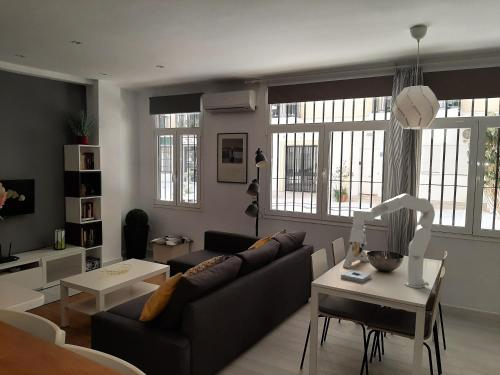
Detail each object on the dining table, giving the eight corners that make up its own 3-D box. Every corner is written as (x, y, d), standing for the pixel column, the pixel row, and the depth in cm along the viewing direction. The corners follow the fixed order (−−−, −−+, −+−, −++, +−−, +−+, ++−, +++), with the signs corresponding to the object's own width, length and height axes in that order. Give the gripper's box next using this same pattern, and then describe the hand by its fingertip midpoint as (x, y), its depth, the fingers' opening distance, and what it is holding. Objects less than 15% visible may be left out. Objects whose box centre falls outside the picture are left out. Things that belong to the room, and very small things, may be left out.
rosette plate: (370, 277, 282) (371, 273, 282) (362, 283, 270) (362, 279, 270) (350, 273, 292) (350, 269, 292) (340, 278, 280) (340, 274, 279)
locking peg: (360, 256, 280) (361, 242, 279) (358, 257, 277) (359, 243, 276) (355, 255, 282) (355, 241, 282) (353, 256, 279) (353, 242, 278)
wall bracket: (361, 282, 323) (347, 267, 304) (357, 281, 326) (342, 266, 307) (370, 258, 331) (356, 242, 312) (365, 257, 334) (351, 241, 315)
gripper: (371, 227, 276) (370, 253, 277) (349, 224, 286) (348, 249, 287) (367, 229, 270) (366, 255, 271) (344, 226, 280) (343, 251, 282)
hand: (357, 251), depth 279 cm, fingers closed on locking peg, 4 cm apart
